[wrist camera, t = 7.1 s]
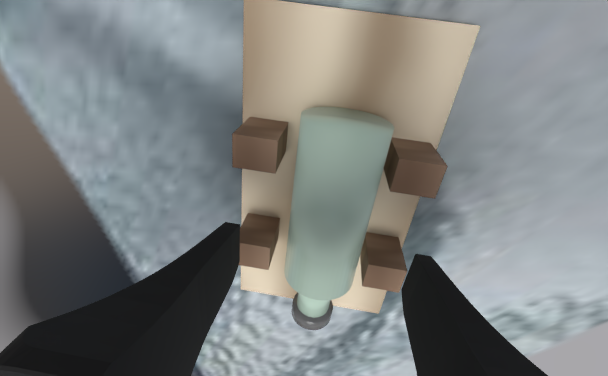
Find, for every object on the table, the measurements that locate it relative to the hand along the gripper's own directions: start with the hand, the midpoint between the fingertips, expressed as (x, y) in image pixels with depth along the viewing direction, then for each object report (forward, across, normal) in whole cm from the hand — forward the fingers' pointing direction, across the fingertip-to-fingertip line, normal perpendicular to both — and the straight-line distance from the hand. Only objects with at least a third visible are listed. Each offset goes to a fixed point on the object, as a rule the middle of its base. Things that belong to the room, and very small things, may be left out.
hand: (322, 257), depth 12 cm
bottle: (+5, 0, +1) cm, 6 cm away
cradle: (+6, 0, 0) cm, 6 cm away
